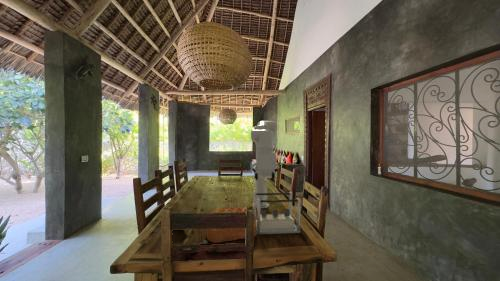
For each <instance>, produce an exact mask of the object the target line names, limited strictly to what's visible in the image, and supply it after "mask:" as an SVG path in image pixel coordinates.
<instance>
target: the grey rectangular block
mask: <svg viewBox="0 0 500 281" xmlns="http://www.w3.org/2000/svg"><path fill="white" fill-rule="evenodd" d="M260 215H261V217H267V215H268V214H267V210H266V209H260Z"/></svg>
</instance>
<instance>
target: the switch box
mask: <svg viewBox="0 0 500 281" xmlns="http://www.w3.org/2000/svg"><path fill="white" fill-rule="evenodd" d="M266 215H267V217H261V214H260V230H282V229H294V224H295V219H294V218H293V216H292V217H291V215H290V214H289V216H284V213H278V217H273V213H272V214H270V213H269V214H266Z"/></svg>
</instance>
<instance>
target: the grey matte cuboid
mask: <svg viewBox="0 0 500 281" xmlns="http://www.w3.org/2000/svg"><path fill="white" fill-rule="evenodd" d="M283 214H284V216H289V208H288V209H287V208H286V209H283Z"/></svg>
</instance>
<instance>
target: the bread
mask: <svg viewBox="0 0 500 281" xmlns="http://www.w3.org/2000/svg"><path fill="white" fill-rule="evenodd" d="M247 207H248V206H245V207H244V206H239V207H236V206H235V207H234V206H231V207H228V208H225V207H222V208H221V207H220V208H219V209H214V210H213V211H211V213H222V212H245V211H246V210H247ZM205 233H206V239H207V241H208V242H210V243H214V244H215V243H224V242H231V241H236V240H239V239H240V240H241V239H242V240H243V239H244V240H245V228H225V229H207V228H206V232H205ZM257 235H258V234H257V228H256V222H255V215H254V237H253V238H255V237H256V236H257Z"/></svg>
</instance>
